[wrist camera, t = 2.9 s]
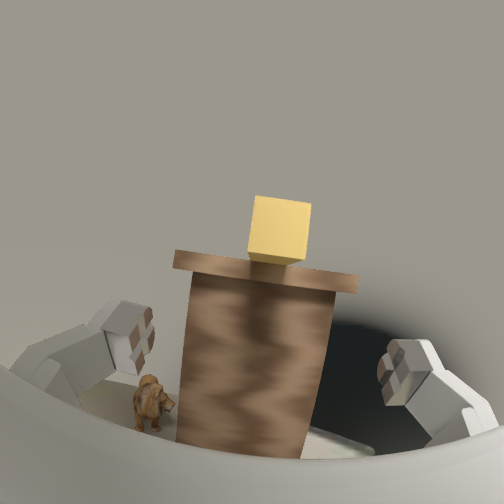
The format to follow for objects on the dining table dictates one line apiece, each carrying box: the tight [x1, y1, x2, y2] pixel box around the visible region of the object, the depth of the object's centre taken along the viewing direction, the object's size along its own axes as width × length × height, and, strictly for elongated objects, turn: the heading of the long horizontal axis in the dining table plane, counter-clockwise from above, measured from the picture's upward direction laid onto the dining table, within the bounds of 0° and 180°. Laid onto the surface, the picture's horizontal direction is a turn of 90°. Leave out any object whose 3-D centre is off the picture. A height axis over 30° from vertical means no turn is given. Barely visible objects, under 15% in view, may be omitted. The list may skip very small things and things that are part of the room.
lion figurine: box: [133, 374, 175, 432], centre depth 36 cm, size 15×5×9 cm, turn 27°
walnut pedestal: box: [173, 250, 359, 459], centre depth 30 cm, size 16×14×26 cm
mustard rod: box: [248, 196, 311, 266], centre depth 27 cm, size 3×24×3 cm, turn 179°
